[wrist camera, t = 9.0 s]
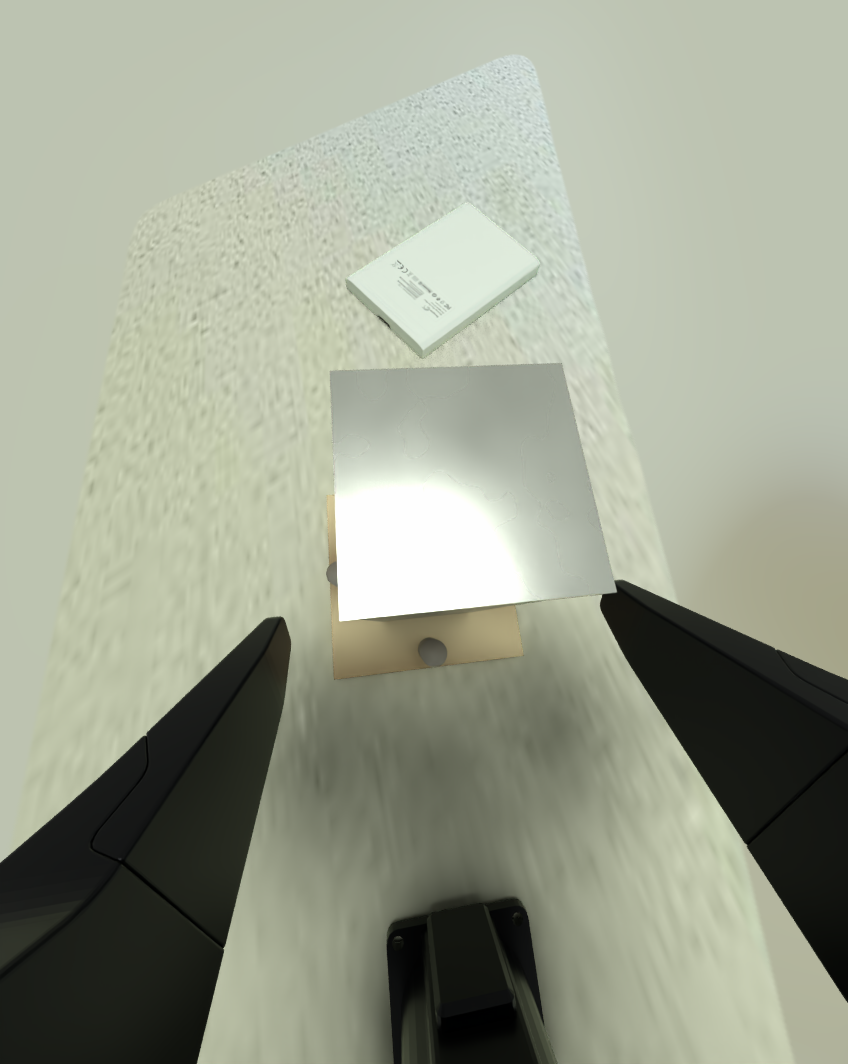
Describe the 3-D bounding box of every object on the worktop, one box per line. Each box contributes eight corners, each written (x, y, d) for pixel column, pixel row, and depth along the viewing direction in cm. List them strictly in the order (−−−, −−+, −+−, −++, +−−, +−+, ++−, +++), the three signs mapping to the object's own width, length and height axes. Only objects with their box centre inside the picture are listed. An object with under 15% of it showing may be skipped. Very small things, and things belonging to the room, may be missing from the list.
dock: (517, 654, 19) (542, 660, 16) (337, 676, 18) (323, 688, 15) (489, 489, 22) (506, 464, 18) (330, 501, 21) (316, 477, 17)
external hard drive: (533, 282, 27) (421, 365, 25) (462, 222, 29) (346, 294, 26) (542, 261, 26) (423, 347, 23) (466, 198, 27) (343, 273, 24)
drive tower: (469, 613, 19) (617, 592, 6) (379, 623, 18) (339, 620, 6) (458, 527, 20) (561, 362, 7) (373, 533, 19) (329, 370, 7)
